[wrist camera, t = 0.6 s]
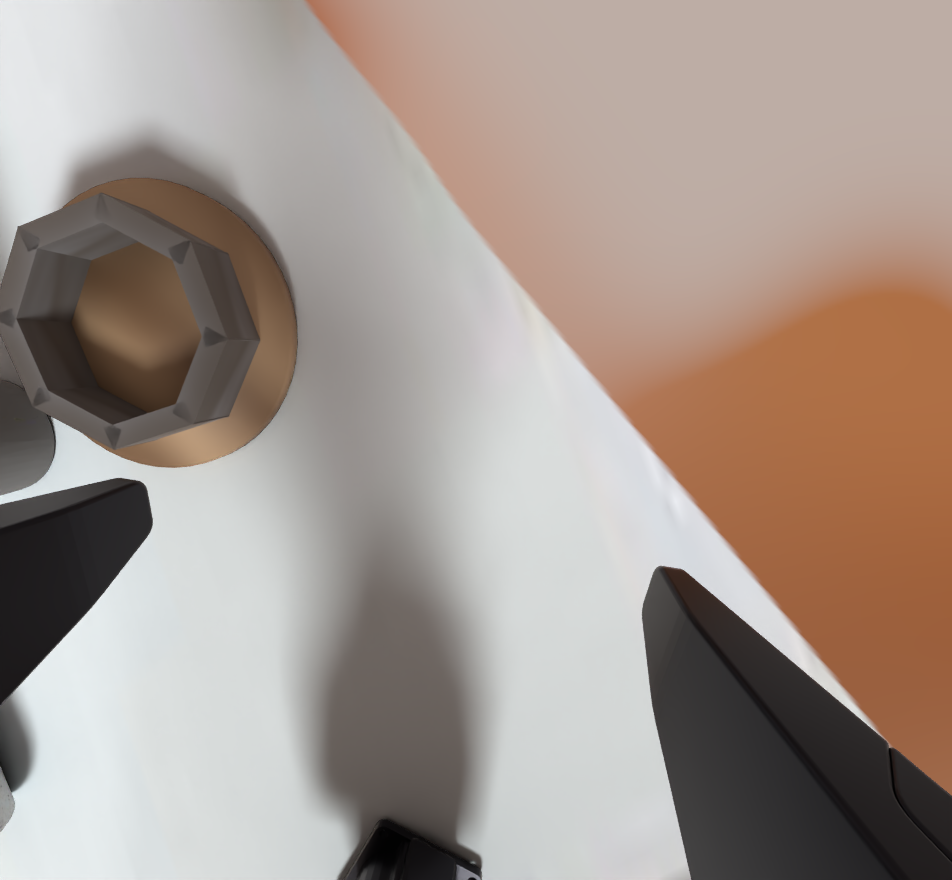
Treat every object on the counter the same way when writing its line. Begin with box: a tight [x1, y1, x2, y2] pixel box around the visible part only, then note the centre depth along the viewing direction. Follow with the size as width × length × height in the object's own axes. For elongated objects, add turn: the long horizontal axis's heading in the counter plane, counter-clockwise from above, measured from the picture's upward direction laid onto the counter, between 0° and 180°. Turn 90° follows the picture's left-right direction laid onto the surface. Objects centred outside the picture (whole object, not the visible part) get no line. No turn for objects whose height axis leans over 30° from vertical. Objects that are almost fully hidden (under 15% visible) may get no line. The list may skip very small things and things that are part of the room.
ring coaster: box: [0, 178, 297, 468], centre depth 21 cm, size 13×13×3 cm
